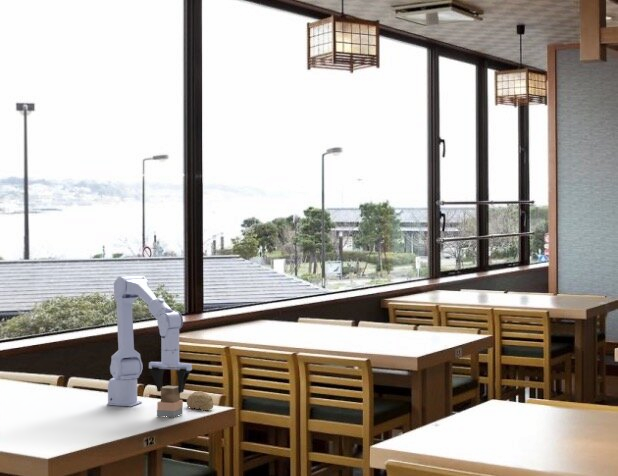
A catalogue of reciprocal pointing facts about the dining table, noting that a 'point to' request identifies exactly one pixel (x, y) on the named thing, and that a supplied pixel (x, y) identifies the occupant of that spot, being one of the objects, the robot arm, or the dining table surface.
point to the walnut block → (170, 394)
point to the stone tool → (200, 401)
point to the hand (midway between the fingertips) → (170, 391)
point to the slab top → (170, 405)
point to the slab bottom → (169, 413)
